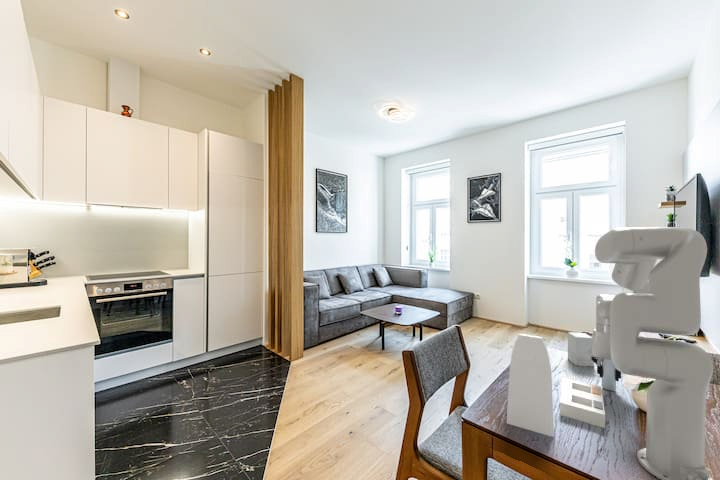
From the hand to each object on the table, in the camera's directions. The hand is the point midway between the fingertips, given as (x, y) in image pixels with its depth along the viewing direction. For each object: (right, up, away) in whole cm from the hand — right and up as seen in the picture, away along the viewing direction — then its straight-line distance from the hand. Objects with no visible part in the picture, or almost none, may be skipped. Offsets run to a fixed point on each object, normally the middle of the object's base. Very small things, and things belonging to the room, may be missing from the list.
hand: (608, 377), depth 107 cm
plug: (0, -4, 0) cm, 4 cm away
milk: (-39, -5, -17) cm, 43 cm away
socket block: (-18, -5, -10) cm, 21 cm away
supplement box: (+7, -4, +22) cm, 24 cm away
